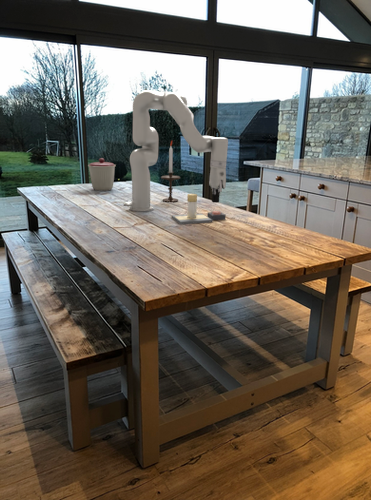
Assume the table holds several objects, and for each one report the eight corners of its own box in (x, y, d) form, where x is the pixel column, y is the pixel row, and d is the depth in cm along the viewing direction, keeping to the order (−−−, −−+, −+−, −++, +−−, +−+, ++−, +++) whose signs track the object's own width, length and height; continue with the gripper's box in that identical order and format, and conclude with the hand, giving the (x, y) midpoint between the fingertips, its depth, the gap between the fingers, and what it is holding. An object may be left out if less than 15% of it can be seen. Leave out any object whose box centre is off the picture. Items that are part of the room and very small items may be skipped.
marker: (188, 218, 195) (189, 195, 192) (185, 216, 199) (186, 194, 196) (197, 218, 196) (198, 195, 193) (194, 215, 200) (195, 193, 197)
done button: (214, 219, 200) (214, 213, 199) (211, 217, 203) (211, 211, 202) (221, 218, 201) (221, 212, 200) (218, 216, 204) (218, 210, 204)
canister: (90, 187, 284) (89, 156, 278) (117, 187, 286) (116, 157, 280) (87, 192, 267) (85, 159, 261) (115, 192, 269) (114, 159, 263)
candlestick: (176, 199, 250) (177, 139, 239) (181, 202, 240) (183, 140, 229) (159, 199, 246) (159, 139, 236) (164, 203, 236) (164, 140, 226)
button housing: (212, 220, 198) (212, 215, 197) (207, 217, 204) (207, 212, 203) (225, 219, 200) (225, 214, 199) (219, 216, 206) (220, 211, 206)
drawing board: (180, 224, 189) (180, 221, 189) (171, 217, 202) (171, 215, 201) (212, 222, 194) (212, 219, 194) (201, 215, 207) (201, 213, 206)
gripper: (232, 166, 189) (228, 205, 195) (219, 162, 202) (216, 198, 208) (217, 166, 186) (214, 205, 192) (205, 162, 200) (202, 199, 206)
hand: (215, 202), depth 200 cm, fingers closed
